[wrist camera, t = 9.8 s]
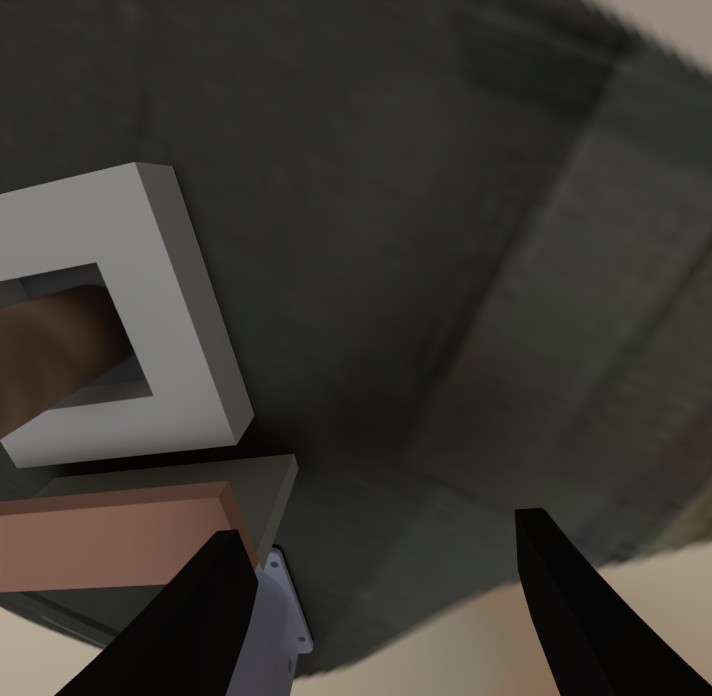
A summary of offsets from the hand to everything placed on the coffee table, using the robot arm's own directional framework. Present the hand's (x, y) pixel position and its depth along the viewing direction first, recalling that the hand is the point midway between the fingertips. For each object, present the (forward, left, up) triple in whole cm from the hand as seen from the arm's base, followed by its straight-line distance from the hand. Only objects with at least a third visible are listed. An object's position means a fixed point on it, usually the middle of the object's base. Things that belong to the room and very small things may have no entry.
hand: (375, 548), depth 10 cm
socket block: (+5, +13, -9) cm, 17 cm away
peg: (+5, +13, -9) cm, 17 cm away
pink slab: (-2, +13, -9) cm, 16 cm away
